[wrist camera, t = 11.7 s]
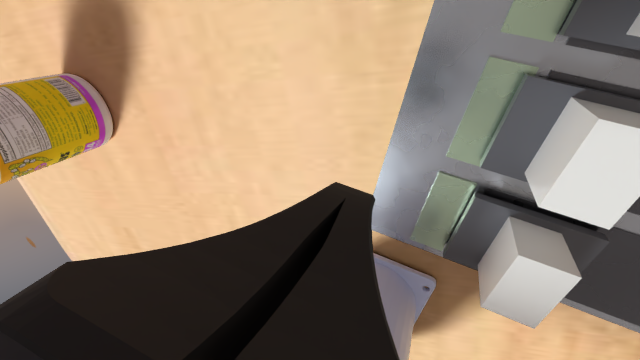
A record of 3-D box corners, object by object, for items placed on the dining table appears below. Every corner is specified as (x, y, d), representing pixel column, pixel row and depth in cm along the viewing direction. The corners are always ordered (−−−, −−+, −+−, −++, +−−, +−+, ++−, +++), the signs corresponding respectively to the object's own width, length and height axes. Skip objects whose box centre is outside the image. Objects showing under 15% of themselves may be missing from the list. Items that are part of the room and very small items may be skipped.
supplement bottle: (80, 140, 31) (-115, 207, 20) (50, 72, 28) (-200, 108, 17) (127, 146, 28) (-67, 225, 18) (99, 72, 25) (-156, 115, 15)
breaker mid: (617, 204, 14) (659, 256, 11) (479, 163, 15) (484, 199, 12) (697, 112, 11) (778, 147, 8) (525, 73, 13) (544, 91, 10)
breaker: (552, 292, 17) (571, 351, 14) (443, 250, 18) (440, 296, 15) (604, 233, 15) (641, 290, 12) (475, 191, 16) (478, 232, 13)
